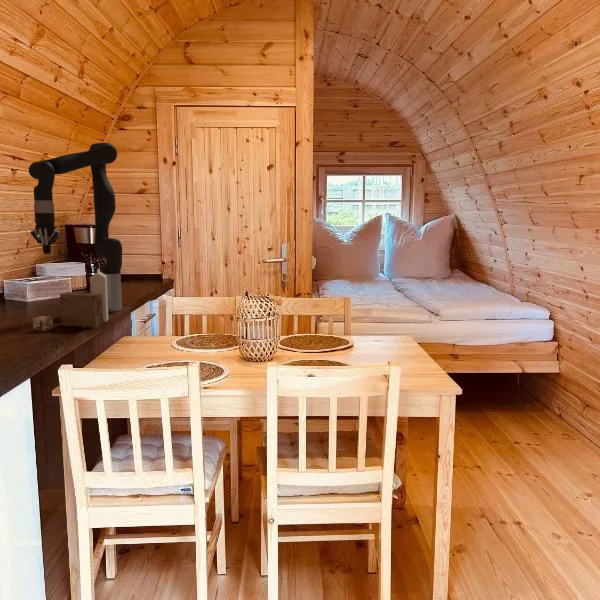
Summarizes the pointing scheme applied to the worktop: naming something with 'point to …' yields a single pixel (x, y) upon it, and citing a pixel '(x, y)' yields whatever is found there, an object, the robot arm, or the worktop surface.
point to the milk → (100, 290)
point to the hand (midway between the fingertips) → (47, 253)
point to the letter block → (42, 322)
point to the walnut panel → (82, 309)
